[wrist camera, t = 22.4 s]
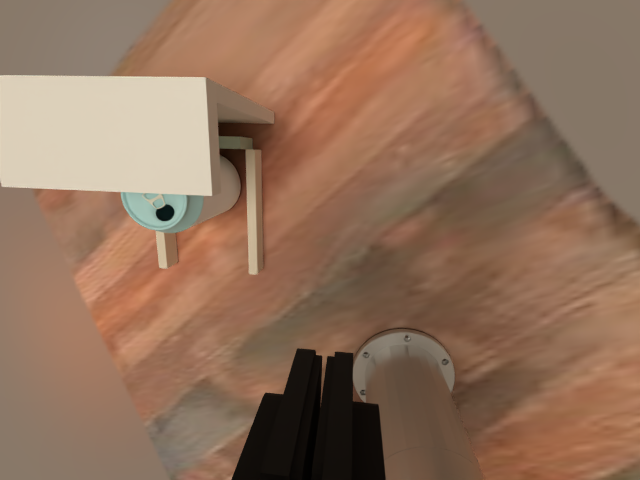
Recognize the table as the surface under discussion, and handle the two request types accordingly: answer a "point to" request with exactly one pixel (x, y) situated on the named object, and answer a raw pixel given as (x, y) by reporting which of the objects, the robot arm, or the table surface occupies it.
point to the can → (183, 204)
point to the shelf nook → (128, 140)
